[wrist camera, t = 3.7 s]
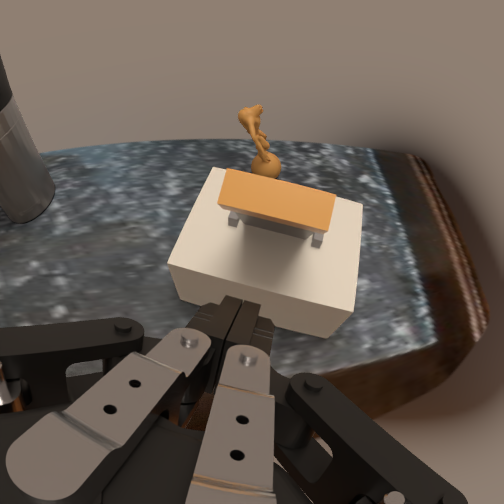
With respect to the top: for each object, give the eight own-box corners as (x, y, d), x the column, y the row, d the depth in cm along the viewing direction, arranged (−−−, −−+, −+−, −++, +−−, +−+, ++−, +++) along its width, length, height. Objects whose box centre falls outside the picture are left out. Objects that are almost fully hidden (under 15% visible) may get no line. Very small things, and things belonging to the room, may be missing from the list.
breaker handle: (306, 245, 28) (328, 231, 16) (241, 228, 28) (216, 203, 17) (311, 223, 28) (336, 194, 16) (246, 207, 28) (227, 168, 17)
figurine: (285, 198, 41) (301, 125, 31) (240, 202, 40) (244, 126, 30) (272, 156, 45) (282, 87, 35) (232, 159, 44) (234, 88, 34)
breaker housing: (326, 338, 31) (358, 306, 24) (180, 299, 33) (164, 255, 25) (341, 245, 38) (366, 196, 30) (215, 213, 39) (212, 158, 31)
